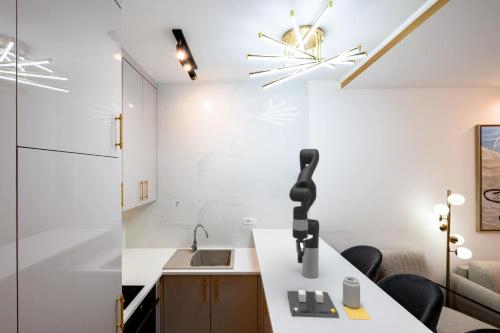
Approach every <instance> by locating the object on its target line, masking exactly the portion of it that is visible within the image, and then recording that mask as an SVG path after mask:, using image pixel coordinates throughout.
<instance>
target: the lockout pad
mask: <svg viewBox="0 0 500 333" xmlns="http://www.w3.org/2000/svg"><path fill="white" fill-rule="evenodd" d="M342 307H343V310H344V311H345V313H346V314H347V317H348V318H349V319H350V320H367V321H369V320H370V321H372V317H370V315H369V314H368V312H367V311H366V309H365V308H364V307H363V306H359V307H358V308H350V307H347V306H346V305H345V306H342Z"/></svg>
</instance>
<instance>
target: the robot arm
mask: <svg viewBox="0 0 500 333" xmlns="http://www.w3.org/2000/svg"><path fill="white" fill-rule="evenodd" d="M319 161H320V151H319V150H318V149H317V148H302V149H301V150H300V151H299V168H300V169H299V170H300V171H299V174H298V176H297V179H296V182H295V183H294V184H293V185H292V187H291V189H290V190H289V193H288V194H289V199H290V200H291V202H297V203H300V205H299V206H294V207H293V209H292V238H294V239H295V248H296V249H295V250H296V254H297V263H298V264H302V275H303V277H305V278H308V279H309V278H310V279H317V278H318V277H319V268H320V267H319V265H320V263H319V257H320V255H319V243H320V242H319V241H320V235H319V234H320V222H319V220H318V219H311V218H308V213H309V210H310V209H311V207H312V206H313V205H314V203H315V201H316V200H317V185H316V183H315V181H314V180H313V178H312V177H313V174H314V172H315V170H316V168H317V166H318V164H319ZM309 236H312V237H310V238H309Z"/></svg>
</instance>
